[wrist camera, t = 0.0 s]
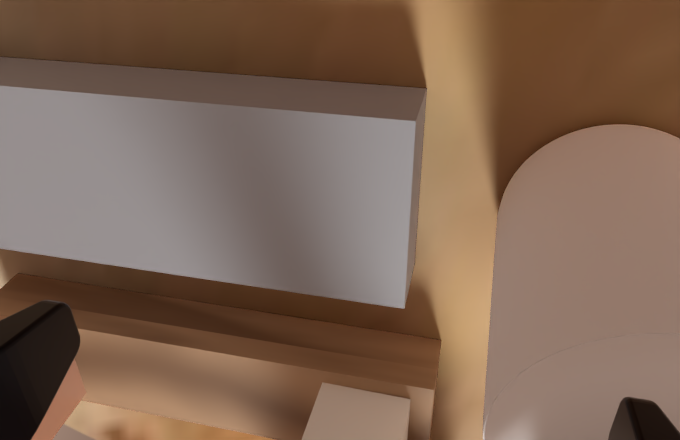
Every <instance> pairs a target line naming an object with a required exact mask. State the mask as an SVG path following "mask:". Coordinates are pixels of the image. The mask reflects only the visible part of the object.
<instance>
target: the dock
mask: <svg viewBox="0 0 680 440" xmlns="http://www.w3.org/2000/svg"><path fill="white" fill-rule="evenodd" d="M426 92H427V88H414V87H401V86H388V85H374V84H361V83H347V82H334V81H320V80H307V79H293V78H280V77H266V76H253V75H239V74H226V73H212V72H199V71H185V70H172V69H158V68H145V67H132V66H118V65H105V64H91V63H78V62H64V61H51V60H37V59H24V58H10V57H0V249H6V250H13V251H19V252H26V253H33V254H39V255H46V256H53V257H60V258H66V259H73V260H80V261H86V262H93V263H100V264H107V265H113V266H120V267H127V268H133V269H140V270H147V271H153V272H160V273H167V274H174V275H180V276H187V277H194V278H200V279H207V280H214V281H221V282H227V283H234V284H241V285H247V286H254V287H261V288H268V289H274V290H281V291H288V292H294V293H301V294H308V295H315V296H321V297H328V298H335V299H341V300H348V301H355V302H362V303H368V304H375V305H382V306H388V307H395V308H402V309H404V308H405V304H406V300H407V295H408V291H409V286H410V282H411V278H412V273H413V269H414V265H415V251H416V237H417V222H418V208H419V193H420V179H421V164H422V150H423V136H424V121H425V107H426Z"/></svg>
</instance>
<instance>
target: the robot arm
mask: <svg viewBox="0 0 680 440" xmlns="http://www.w3.org/2000/svg"><path fill="white" fill-rule="evenodd" d="M79 347H80V335H79V331H78V328H77V325H76V322H75V319H74V316H73V313H72V310H71V308H70V306H69V305H68V304H66V303H64V302H58V301H52V300H42V301H40V302H38V303H36V304H33V305H31V306H29V307H27V308H25V309H23V310H21V311H19V312H17V313H15V314H13V315H11V316H8V317H6V318H4V319H2V320H0V440H31V439H32V438H33V436H34V434H35V433H36V431H37V429H38V428H39V426H40V424H41V422H42V420H43V419H44V417H45V415H46V413H47V411H48V409H49V407H50V405H51V403H52V401H53V399H54V397H55V395H56V393H57V391H58V390H59V388H60V386H61V384H62V382H63V380H64V378H65V376H66V374H67V372H68V370H69V368H70V366H71V364H72V362H73V360H74V358H75V356H76V354H77V352H78V350H79ZM608 440H680V432H679V431H678V430H677V428H676V427H675V426H674V424H673V423H672V422H671V421H670V419H669V418H668V417H667V416H666V414H665V413H664V412H663V411H662V409H661V408H660V407H659V406H658V405H657V404H656V403H655V402H653V401H651V400H646V399H640V398H634V397H624V398H623V399H622V400H621V402H620V404H619V407H618V410H617V413H616V415H615V418H614V421H613V424H612V427H611V429H610V432H609V437H608Z"/></svg>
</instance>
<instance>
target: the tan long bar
mask: <svg viewBox="0 0 680 440" xmlns="http://www.w3.org/2000/svg"><path fill="white" fill-rule="evenodd" d="M42 300H52V301H58V302H64V303H66V304H68V305H69V306H70V308H71V310H72V313H73V316H74V319H75V322H76V325H77V328H78V331H79V335H80V347H79V350H78V352H77V354H76V356H75V361H76V364H77V367H78V370H79V373H80V376H81V379H82V381H83V384H84V387H85V390H86V394H85V395H84V397H83V398H82V399H81V400H82V401H87V402H92V403H97V404H102V405H107V406H112V407H117V408H122V409H127V410H132V411H137V412H142V413H147V414H152V415H157V416H162V417H167V418H172V419H177V420H182V421H187V422H192V423H197V424H202V425H207V426H212V427H217V428H222V429H227V430H232V431H237V432H242V433H247V434H252V435H257V436H262V437H267V438H272V439H277V440H302V437H303V434H304V431H305V429H306V426H307V423H308V420H309V418H310V415H311V412H312V410H313V407H314V404H315V401H316V399H317V396H318V393H319V390H320V388H321V385H322V382H323V383H329V384H334V385H339V386H344V387H349V388H355V389H360V390H365V391H370V392H375V393H381V394H386V395H391V396H396V397H402V398H407V399H410V412H409V425H408V438H407V440H430V435H431V427H432V420H433V411H434V402H435V392H436V384H437V375H438V365H439V356H440V347H441V340H438V339H431V338H425V337H419V336H412V335H406V334H400V333H393V332H387V331H380V330H374V329H368V328H361V327H355V326H349V325H342V324H336V323H330V322H323V321H317V320H311V319H304V318H298V317H292V316H285V315H279V314H273V313H266V312H260V311H254V310H247V309H241V308H235V307H228V306H222V305H215V304H209V303H203V302H196V301H190V300H184V299H177V298H171V297H165V296H158V295H152V294H146V293H139V292H133V291H127V290H120V289H114V288H108V287H101V286H95V285H89V284H82V283H76V282H70V281H63V280H57V279H51V278H44V277H38V276H31V275H25V274H19V273H18V274H17V275H16V276H14V277H13V278H12V279H11V280H10V281H9V282H8V283H7V284H6V285H5V286H3V287H2V288H1V289H0V320H2V319H4V318H6V317H8V316H11V315H13V314H15V313H17V312H19V311H21V310H23V309H25V308H27V307H29V306H31V305H33V304H36V303H38V302H40V301H42Z"/></svg>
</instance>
